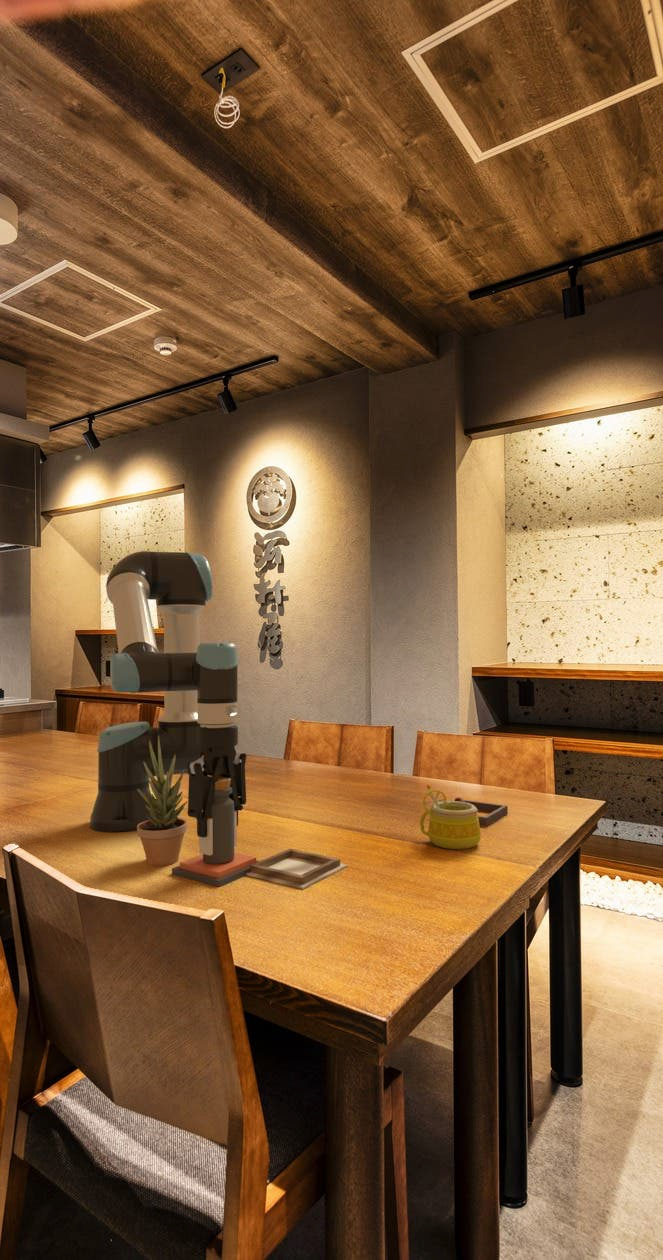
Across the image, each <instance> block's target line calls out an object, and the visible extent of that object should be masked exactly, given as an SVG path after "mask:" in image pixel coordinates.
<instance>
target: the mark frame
mask: <svg viewBox="0 0 663 1260" xmlns="http://www.w3.org/2000/svg"><path fill="white" fill-rule="evenodd" d="M258 861H259V862H257V863H254V864H252V865H250V872H249V873H246V875H245V876H248V877H253V878H257V879H261V880H265V881H268V882H272V883H277V884H281V885H284V886H289V887H292V888H296V889H300V890H305V889H307V888H309V887H311V886H313V885H315V884H317V883H319V882H321V881H322V880H324V879H326V878H328V877H330V876H332V875H333V874H336V873H339V872H341V871H342V870H344V869H345V868H347V867H349V866H348V864H346V863H345V864H344V863H341V858H337V857H332V856H327V855H322V854H318V853H317V854H316V853H313V852H309V851H302V850H298V849H295V848H288V849H285V850H283V851H281V852H278V853H277V854H273V855H271V856H268V857H267V858H264V859H261V860H258Z"/></svg>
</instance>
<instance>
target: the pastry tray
mask: <svg viewBox="0 0 663 1260" xmlns="http://www.w3.org/2000/svg"><path fill="white" fill-rule="evenodd" d="M453 800H454V799H453ZM453 800H451V801H453ZM464 800H465V802H466V803H470V804H472V805H474V806H475V807H476V808H477V809H478V811H480V812H484V813H485V812H487V813H489V814H487V815H485V816H483V815H478V819H479V825H480V827H481V826H482V827H486V828H487V827H489V826H491V825H492V824H494V823H495V822H497V821H499V820H500V819H502V818H503V817H505V816H507V815H508V814H509V812H508V811H509V810H508V809H509V808H508V805H506V804H498V803H492V802H491V803H490V802H483V801H476V800H470V799H469V800H468V799H464ZM478 811H477V812H478Z"/></svg>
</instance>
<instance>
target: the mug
mask: <svg viewBox="0 0 663 1260" xmlns="http://www.w3.org/2000/svg"><path fill="white" fill-rule="evenodd" d="M426 789H427V790H428V791H427V792H426V794H425V795H424V797H423V799H422V805H423V808H424V809H425V811H423V812H422V814H421V816H420V817H421V818H420V821H419V827H420V832H421V833H422V834H424V835H425V836H428V839H429V841H430V842H431V843H432V844H434V845H435V846H437V847H440V848H443V849H448V850H449V849H450V850H465V849H470V848H473V847H476V846H477V845H478V844H479V843H480V840H481V826H480V825H479V819H478V816H479V815H478V809H477V808H476V807H475V806H474V805H472V804H470V803H466V802H458V801H452V800H447V797H446V795H445V794H444V792H443V791H442V790H440V789H431V785H429V784H426ZM433 792H436V795H435V794H434V793H433ZM440 794H441V795H442V796H443V799H439V800H438V798H439V795H440ZM428 795H429V797H430V799H432V801H426V799H427V797H428ZM428 804H432V805H431V806H430V809H428V808H427V807H426V805H428ZM427 815H429V822H428V830H426V829H425V825H424V822H425V818H426V816H427Z"/></svg>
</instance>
